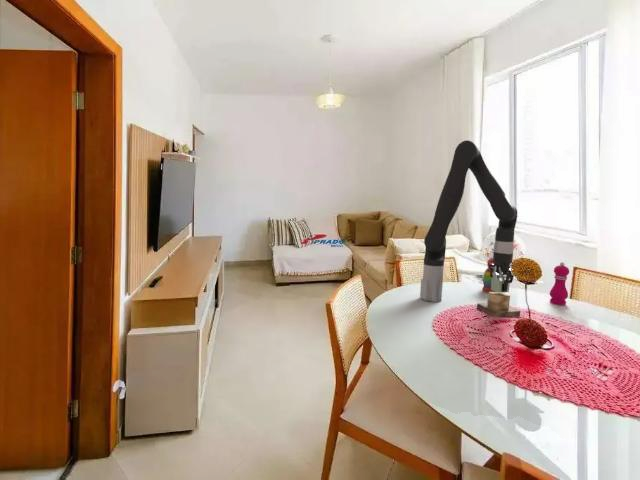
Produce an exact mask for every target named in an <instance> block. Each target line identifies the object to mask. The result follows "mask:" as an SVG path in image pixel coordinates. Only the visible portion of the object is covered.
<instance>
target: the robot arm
mask: <svg viewBox="0 0 640 480" xmlns="http://www.w3.org/2000/svg"><path fill="white" fill-rule="evenodd" d="M469 170H470V171H471V173H472V174H473V176H474V178H475V179H476V183H477V184H478V186H479V188H480V190H481V192H482V194H483V195H484V196H485V198H486V199H487V202H489V204H490V207H491V209H492V211H493V214H494V215H495V217H496V218H497V219H498V225H497V228H496V229H495V237H494V244H493V252H492V253H493V254H492V258H493V261H494V262H495V263H494V264H489V269H490V277H492V278H500V277H501V278H502V289H501V291H502V292H503V293H507V292H506V291H507V287H508V283H510V284H512V283H513V282H514V281H513V280H514V277H515V275H514V276H513V275H512V273H511V269H512V268H511V264H512V263H513V258H514V246H515V245H514V244H515V243H514V239H515V228H516V225H517V219H518V210H517V208H516V206H514V205H512V204H510V202H509V201H508V199H507V197H506V193H505V191H504V190H503V187H501V185H500V184H499V182H498V181H497V179H496V178H495V177H494V175H493V174H492V172H491V171H490V169H489V168H488V166H487V163H486V162H485V161H484V157H483V156H482V153H481V150H480V147H479V146H478V145H477V144H476V143H474V142H473V141H471V140H463V141H461V142H460V143H459V144H457V146H456V148H455V150H454V153H453V157H452V162H451V166H450V170H449V172H448V175H447V177H446V179H445V182H444V185H443V188H442V189H441V193H440V195H439V198H438V202H437V204H436V209H435V211H434V216H433V220H432V222H431V225H430V226H429V229H428V231H427V233H426V235H425V236H424V240H423V241H424V242H423V243H424V246H425V249H424V250H425V251H424V252H425V253H424V256H423V257H424V259H423V272H422V278H421V279H420V289H419V291H420V293H419V297H420V299H422V300H423V301H425V302H432V303H436V302H437V303H438V302H439V303H440V302H441V301H442V299H443V298H442V297H443V286H444V285H443V283H444V271H445V270H444V267H445V259H446V250H447V249H446V248H447V237H446V236H447V232H448V229H449V226H450V224H451V222H452V221H453V218H454V217H455V215H456V213H457V212H458V209H459V207H460V204H461V201H462V199H463V196H464V191H465V185H466V177H467V174H468V171H469ZM492 272H493V274H494V275H493V274H492ZM505 279H506V280H505Z"/></svg>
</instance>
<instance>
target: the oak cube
mask: <svg viewBox="0 0 640 480" xmlns="http://www.w3.org/2000/svg"><path fill="white" fill-rule="evenodd" d="M487 295H488V296H487V303H488V306H490V307H492V308H494V309H496V310H498V309H509V306H510V301H511V295H509V294H507V293H506V292H502V293H498V292H488V294H487Z"/></svg>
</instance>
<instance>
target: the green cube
mask: <svg viewBox="0 0 640 480" xmlns="http://www.w3.org/2000/svg"><path fill="white" fill-rule="evenodd" d="M505 280H506V278H505ZM510 284H511V283H508V287H507V291H506V292H505V293H509V292H510ZM501 289H502V278H492V281H491V290H493V291H496V292H498V293H502V291H501Z"/></svg>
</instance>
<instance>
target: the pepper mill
mask: <svg viewBox="0 0 640 480" xmlns="http://www.w3.org/2000/svg"><path fill="white" fill-rule="evenodd" d="M565 265H566V264H565V262H564V261H563V262H562V261H561V262H560V263H559V264H558V265H556V266H555V267H554V269H553V272H554V281H555V282H554V285H553V286H552V288H551V289H550V291H549V295H550V297H551V298H550V299H549V303H551V304H552V305H555V304H556V306H566V305H565V304H567V299H568V298H569V292H568V290H567V288H566V281H567V280H568V276H569V274H570V269H569V267H567V266H565Z"/></svg>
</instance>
